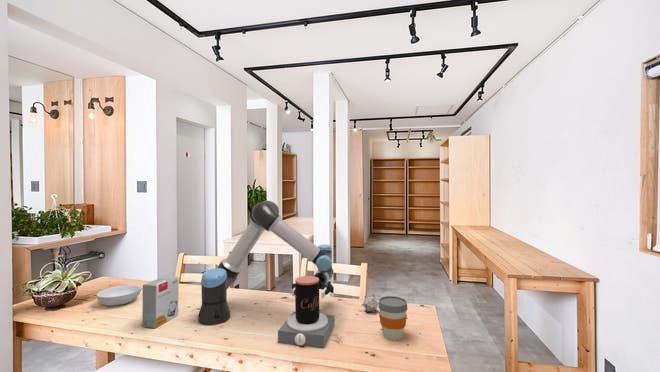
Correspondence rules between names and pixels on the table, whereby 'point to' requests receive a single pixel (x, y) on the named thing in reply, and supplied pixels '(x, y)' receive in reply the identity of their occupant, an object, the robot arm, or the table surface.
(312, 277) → the coffee jar
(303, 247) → the robot arm
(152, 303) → the hard drive box
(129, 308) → the table surface
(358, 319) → the table surface
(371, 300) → the game die
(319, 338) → the kitchen scale
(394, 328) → the reusable coffee cup
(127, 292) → the serving bowl
